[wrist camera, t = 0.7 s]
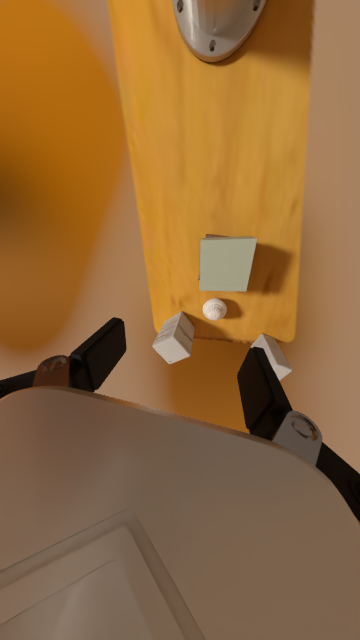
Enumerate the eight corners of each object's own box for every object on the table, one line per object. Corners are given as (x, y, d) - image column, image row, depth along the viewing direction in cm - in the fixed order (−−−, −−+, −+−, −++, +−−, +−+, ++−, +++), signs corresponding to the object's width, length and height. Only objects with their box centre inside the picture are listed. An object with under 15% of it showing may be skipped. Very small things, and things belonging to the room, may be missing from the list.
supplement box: (195, 327, 47) (191, 356, 37) (177, 336, 51) (168, 365, 40) (182, 309, 45) (173, 336, 34) (164, 320, 48) (150, 347, 38)
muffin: (203, 293, 41) (202, 304, 35) (227, 293, 40) (229, 305, 34) (203, 312, 44) (201, 326, 38) (224, 313, 43) (226, 328, 37)
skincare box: (262, 350, 47) (275, 384, 37) (250, 346, 47) (260, 378, 37) (275, 337, 44) (293, 370, 34) (262, 332, 44) (276, 364, 34)
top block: (202, 238, 30) (200, 240, 25) (250, 236, 28) (257, 238, 24) (200, 282, 34) (199, 290, 30) (242, 283, 33) (246, 291, 29)
